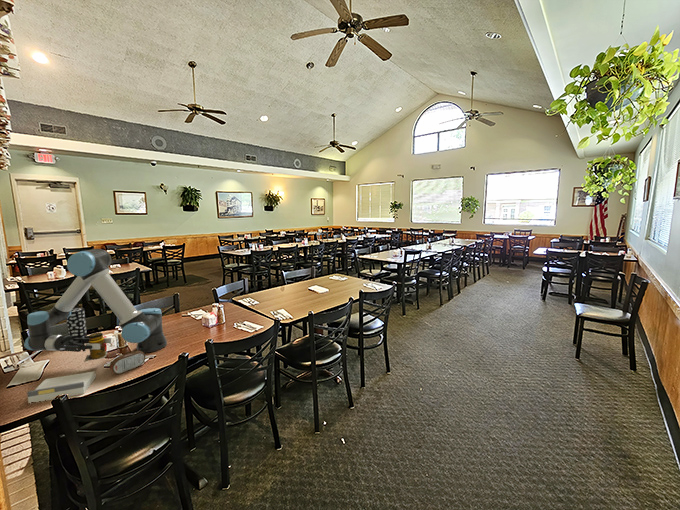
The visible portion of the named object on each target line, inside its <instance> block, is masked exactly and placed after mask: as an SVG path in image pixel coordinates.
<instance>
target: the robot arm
mask: <svg viewBox="0 0 680 510" xmlns="http://www.w3.org/2000/svg"><path fill="white" fill-rule="evenodd" d="M111 264H112V257H111V254H110V253H109V252H108V251H107V250H104V249H103V248H92V249H88V250H86V249H85V250H80V251H78V252H75V253H73V254H72V255H70V256H69V258H68V259H67V262H66V268H67V270H68V271H69V273H70V274H71V275H73V276H76V277H75V279H74V280H73V281H72V283H71V284H70V286H69V287H68V288H67V289H66V290H65V291H64V293H62V296H61V297H60V298H59V299H58V300H57V302H56V303H55V304H54V306H53V307H52V308H51V309H50V310H48V311H45V310H39V311H34V312H31V313H29V314H27V316H26V317H27V322H26V323H27V328H28V333H29V336H27V338H26V339H25V341H24V342H23V344H24V345H23V346H24V348H25V349H26V350H29V351H34V352H35V351H36V352H37V351H38V352H39V351H54V352H57V351H58V352H72V353H73V352H77V353H80V352H86V350H90V349H98V350H99V349H100V344H89V335H87V336H86V335H84V336H82V338H73V337H72V336H70V335H68V334H67V335H66V334H65V335H64V334H63V335H62V334H52V329H51V327H53V326H54V325H57V324H59V323H61V322H62V321H63V322H64V321H65V320H66V319H67V318H68V317H69V316H70V315H71V310H72V309H74V308H75V306H76V305H77V304H78V302H79V301H81V299H82V297H83V296H84V295H85V293H87V291H88V290H89V288H91V286H92V288H94V290H95V291H96V292H97V294H98V295H99V296H100V298H101V299H102V300H103V301H104V303H106V305H107V306H108V307H109V309H110V310H111V311H112V312H113V313H114V315H115V316H116V317H117V319H118V320H119V323H118V326H119V327H120V329H121V333H120V334H121V337H122V339H123V340H125V342H127V343H130V344H136V351H142V352H143V353H144V354H145V353H152V352H157V351H159V349H160V350H161V348H162V349H163V347H164V348H165V347H167V345H168V340H167V337H166V335H165V333H164V331H163V330H164V329H163V328H164V327H163V314H162V310H161V308H158V307H153V308H152V307H149V308H144V309H139V310H138V309H137V308H136V307H135V305H133V303H132V302H131V300H130V299H129V298H128V297H127V296H126V294H125V292H124V291H123V290H122V288H121V287H120V286H119V285H118V284H117V282H116V281H115V279H113V277H112V276H111V274H109V273H110V268H109V267H110V265H111ZM103 338H104V342H105V344H112V337H103Z"/></svg>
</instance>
